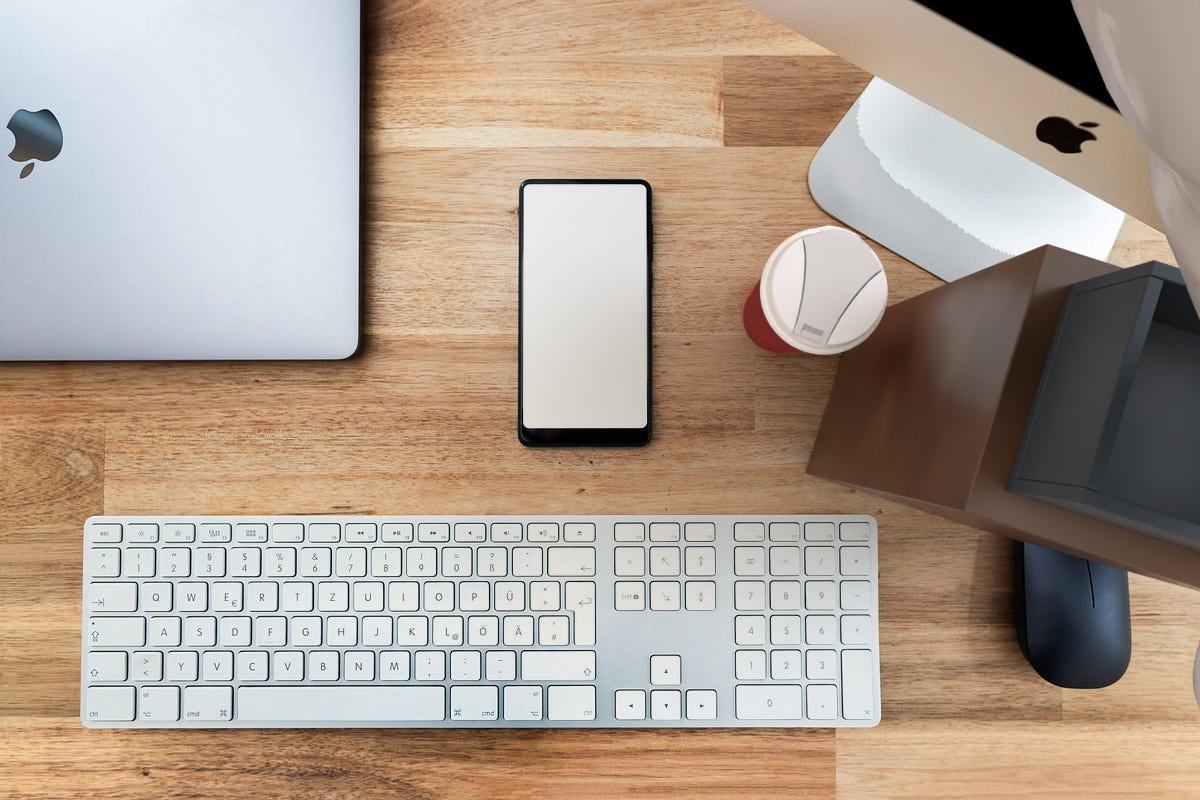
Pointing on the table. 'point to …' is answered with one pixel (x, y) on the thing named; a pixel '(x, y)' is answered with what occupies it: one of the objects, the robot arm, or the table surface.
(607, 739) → the table surface
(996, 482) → the stand
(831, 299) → the paper cup
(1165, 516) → the bin
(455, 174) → the table surface
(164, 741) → the table surface
